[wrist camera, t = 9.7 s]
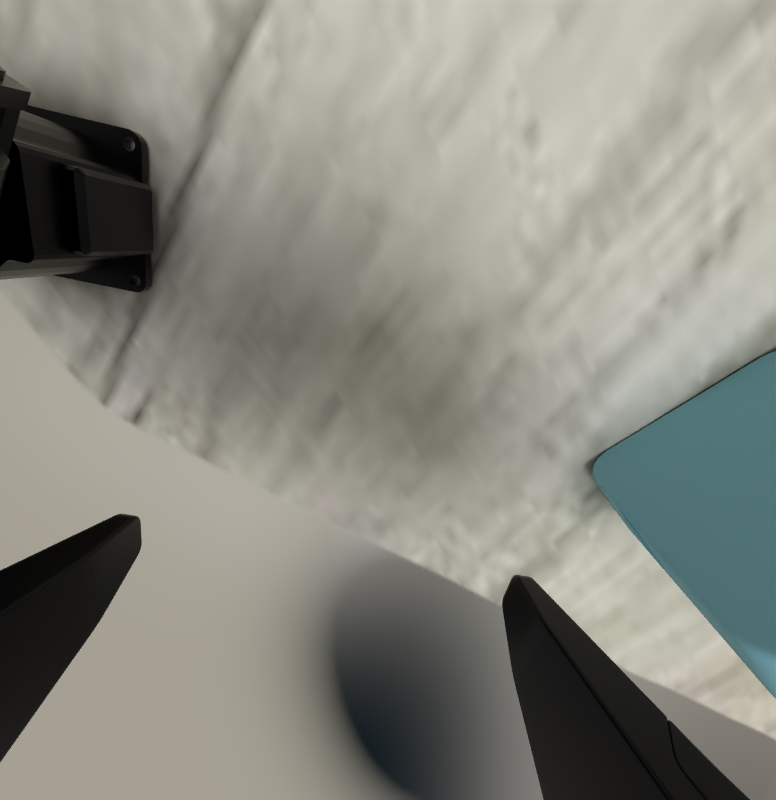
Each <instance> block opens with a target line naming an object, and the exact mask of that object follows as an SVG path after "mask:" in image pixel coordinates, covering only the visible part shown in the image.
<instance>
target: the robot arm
mask: <svg viewBox="0 0 776 800" xmlns="http://www.w3.org/2000/svg"><path fill="white" fill-rule="evenodd" d="M5 73H6V71H5V70H4V69H3V68H1V67H0V280H1V279H12V278H23V277H35V276H46V275H55V276H60V277H64V278H69V279H74V280H79V281H84V282H89V283H94V284H99V285H104V286H109V287H114V288H119V289H123V290H128V291H133V292H142V291H146V290H148V289H149V288H150V287H151V260H150V252H151V251H152V250H153V224H152V192H151V190H150V189H149V187H148V162H147V146H146V143H145V141H144V139H143V138H142V137H141V136H140V135H139V134H137V133H135V132H133V131H131V130H129V129H125V128H120V127H116V126H112V125H108V124H104V123H99V122H95V121H91V120H87V119H83V118H78V117H74V116H70V115H66V114H62V113H57V112H53V111H49V110H45V109H41V108H36V107H32V106H28V101H29V97H30V94H31V92H30V91H29V90H28V89H27V88H25V87H24V86H22V85H21V84H20V83H18V82H17V81H15V80H14V79H12V78H11V77H9V76H8V75H6V74H5ZM131 139H133V140H134V142H135V149H134V150H133V151H131V150H130V148H129V145H128V144H129V141H130V140H131ZM135 276H137V277H139V279H140V281H141V284H140V285H138V284H137V283H136V282H135ZM140 549H141V523H140V519H139V517H137V516H133V515H127V514H118V515H115V516H113V517H111V518H109V519H107V520H105V521H103V522H101V523H98V524H96V525H94V526H92V527H90V528H88V529H86V530H84V531H82V532H80V533H78V534H76V535H73V536H71V537H69V538H67V539H65V540H63V541H61V542H59V543H57V544H55V545H52V546H50V547H48V548H46V549H44V550H42V551H40V552H38V553H36V554H34V555H32V556H29V557H27V558H25V559H24V560H22V561H19V562H17V563H15V564H13V565H11V566H9V567H7V568H4V569H2V570H0V762H1V761H2V759H3V758H4V756H5V755H6V753H7V752H8V750H9V749H10V748H11V746H12V745H13V744H14V742H15V741H16V739H17V738H18V736H19V735H20V734H21V732H22V731H23V729H24V728H25V727H26V725H27V724H28V722H29V721H30V719H31V718H32V717H33V715H34V714H35V712H36V711H37V710H38V708H39V707H40V705H41V704H42V702H43V701H44V700H45V698H46V697H47V695H48V694H49V693H50V691H51V690H52V688H53V687H54V685H55V684H56V683H57V681H58V680H59V678H60V677H61V676H62V674H63V673H64V671H65V670H66V668H67V667H68V666H69V664H70V663H71V661H72V660H73V659H74V657H75V656H76V654H77V653H78V651H79V650H80V649H81V647H82V646H83V644H84V643H85V642H86V640H87V639H88V637H89V636H90V635H91V633H92V632H93V630H94V629H95V627H96V626H97V624H98V623H99V621H100V619H101V618H102V616H103V615H104V613H105V611H106V610H107V608H108V606H109V604H110V603H111V601H112V599H113V597H114V596H115V594H116V592H117V591H118V589H119V587H120V585H121V584H122V582H123V580H124V578H125V577H126V575H127V573H128V571H129V570H130V568H131V566H132V564H133V563H134V561H135V559H136V558H137V556H138V554H139V551H140ZM502 608H503V614H504V620H505V627H506V634H507V641H508V647H509V654H510V661H511V666H512V673H513V677H514V681H515V686H516V690H517V694H518V698H519V702H520V706H521V710H522V714H523V718H524V722H525V726H526V730H527V734H528V738H529V742H530V746H531V751H532V754H533V758H534V763H535V767H536V770H537V774H538V778H539V783H540V787H541V790H542V794H543V799H544V800H750V799H749V798H748V797H747V796H746V795H745V794H744V793H742V792H741V791H740V790H739V789H738V788H737V787H736V786H735V785H734V784H733V783H732V782H731V781H730V780H729V779H728V778H727V777H726V776H725V775H724V774H723V773H722V772H720V770H718V768H717V767H716V766H715V765H714V764H713V763H711V761H710V760H709V759H708V758H707V757H705V755H704V754H703V753H702V752H701V751H700V750H699V749H698V748H697V747H695V745H694V744H693V743H692V742H691V741H690V740H689V739H688V738H686V736H685V735H684V734H683V733H682V732H681V731H680V730H679V729H678V728H677V727H676V726H675V725H674V724H673V723H672V722H671V721H670V720H668V721H667V717H666V716H665V715H664V714H663V713H662V712H661V711H660V710H659V709H658V707H656V705H655V704H654V703H653V702H652V701H651V700H650V699H649V698H648V697H647V696H646V695H645V694H644V693H643V692H642V691H641V690H640V689H639V688H638V687H637V686H636V685H635V684H634V683H633V682H632V681H631V680H630V679H629V678H628V677H627V675H625V673H624V672H623V671H621V669H620V668H619V667H618V666H617V665H616V664H615V663H614V662H613V661H612V660H611V659H610V658H609V657H608V656H607V655H606V654H605V653H604V652H603V651H602V650H601V649H600V648H599V647H598V646H597V645H596V643H595V642H594V641H593V640H592V639H591V638H590V637H589V636H588V635H587V634H586V633H585V632H584V631H583V630H582V629H581V628H580V627H579V626H578V625H577V624H576V623H575V622H574V621H573V620H572V619H571V618H570V617H569V616H568V615H567V614H566V613H565V612H564V610H563V609H562V608H561V607H560V606H559V605H558V604H557V603H556V602H555V601H554V600H553V599H552V598H551V597H550V596H549V595H548V594H547V593H546V592H545V591H544V590H543V589H542V588H541V587H540V586H539V585H538V584H537V583H536V582H535V581H534V580H533V579H532V578H531V577H528V576H521V575H515V576H513V577H512V579H511V581H510V583H509V586H508V588H507V590H506V592H505V595H504V597H503V602H502Z"/></svg>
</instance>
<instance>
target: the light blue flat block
mask: <svg viewBox="0 0 776 800" xmlns="http://www.w3.org/2000/svg"><path fill="white" fill-rule="evenodd" d="M593 478H594V480H595V482H596V484H597V485H598V487H599V488H600V489H601V491H602V492H603V493H604V495H605V496H606V498H607V499H608V500H609V502H610V503H611V505H612V506H613V507H614V509H615V510H616V511H617V513H618V514H619V516H620V517H621V518H622V520H623V521H624V522H625V524H626V525H627V527H628V528H629V529H630V530H631V532H632V533H633V534H634V535H635V536H636V537H637V539H638V540H639V541H640V542H641V543H642V544H643V546H644V547H645V548H646V549H647V550H648V551H649V553H650V554H651V555H652V556H653V557H654V558H655V559H656V561H657V562H658V563H659V564H660V565H661V566H662V568H663V569H664V570H665V571H666V572H667V573H668V575H669V576H670V577H671V578H672V579H673V580H674V582H675V583H676V584H677V585H678V586H679V587H680V589H681V590H682V591H683V592H684V593H685V594H686V596H687V597H688V598H689V599H690V600H691V601H692V603H693V604H694V605H695V606H696V607H697V608H698V610H699V611H700V612H701V613H702V614H703V615H704V617H705V618H706V619H707V620H708V621H709V622H710V624H711V625H712V626H713V627H714V628H715V629H716V631H717V632H718V633H719V634H720V635H721V636H722V638H723V639H724V640H725V641H726V642H727V643H728V644H729V646H730V647H731V648H732V649H733V650H734V651H735V653H736V654H737V655H738V656H739V657H740V658H741V660H742V661H743V662H744V663H745V664H746V665H747V667H748V668H749V669H750V670H751V671H752V672H753V674H754V675H755V676H756V677H757V678H758V679H759V681H760V682H761V683H762V684H763V685H764V686H765V688H766V689H767V690H768V691H769V692H770V693H771V694H772V695H773V696H774V697H775V698H776V351H774V352H772V353H769V354H767V355H764V356H762V357H760V358H759V359H757V360H755V361H754V362H752V363H750V364H749V365H747V366H745V367H744V368H742V369H740V370H739V371H737V372H736V373H734V374H732V375H731V376H729V377H727V378H726V379H724V380H722V381H721V382H719V383H717V384H716V385H714V386H713V387H711V388H709V389H708V390H706V391H704V392H703V393H701V394H699V395H698V396H696V397H694V398H693V399H691V400H690V401H688V402H686V403H685V404H683V405H681V406H680V407H678V408H676V409H675V410H673V411H671V412H670V413H668V414H666V415H665V416H663V417H662V418H660V419H658V420H657V421H655V422H653V423H652V424H650V425H648V426H647V427H645V428H643V429H642V430H640V431H639V432H637V433H635V434H634V435H632V436H630V437H629V438H627V439H625V440H624V441H622V442H620V443H619V444H617V445H615V446H614V447H612V448H611V449H609V450H607V451H606V452H604V453H603V454H602V455H601V456H600V457H599V458H598V459H597V461H596V462H595V464H594V467H593Z"/></svg>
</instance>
